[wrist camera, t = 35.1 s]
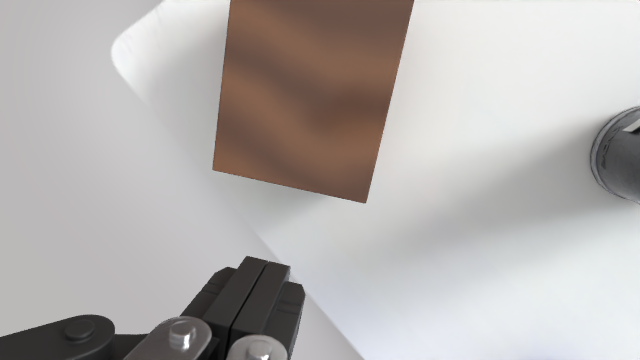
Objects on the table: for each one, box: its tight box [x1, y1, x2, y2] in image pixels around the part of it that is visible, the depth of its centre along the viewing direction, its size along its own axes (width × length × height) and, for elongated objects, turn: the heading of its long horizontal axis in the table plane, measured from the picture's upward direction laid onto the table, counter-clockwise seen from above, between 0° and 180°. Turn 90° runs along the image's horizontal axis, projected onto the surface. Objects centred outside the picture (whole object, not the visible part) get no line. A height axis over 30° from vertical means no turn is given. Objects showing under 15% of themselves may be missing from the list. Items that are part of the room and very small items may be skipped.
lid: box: [213, 0, 414, 203], centre depth 29 cm, size 18×14×1 cm
